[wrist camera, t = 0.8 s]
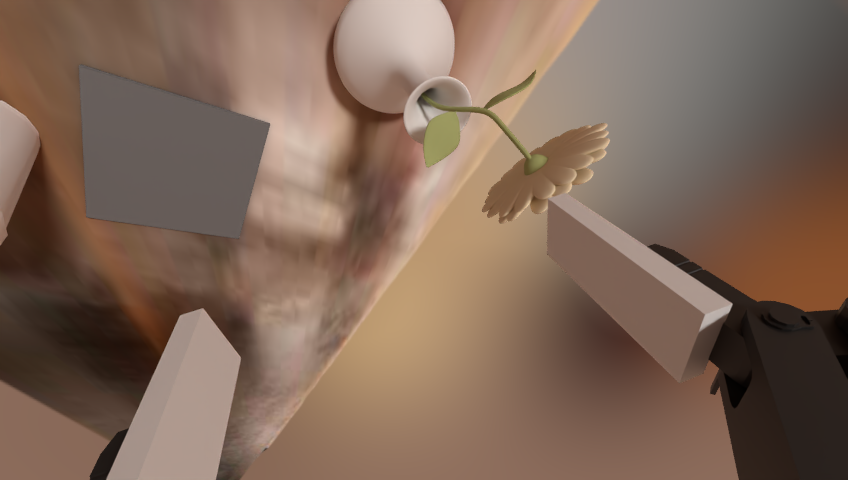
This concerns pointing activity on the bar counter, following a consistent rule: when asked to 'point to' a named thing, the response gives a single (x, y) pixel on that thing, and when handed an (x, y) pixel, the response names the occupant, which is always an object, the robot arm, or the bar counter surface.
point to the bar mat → (165, 157)
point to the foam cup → (14, 159)
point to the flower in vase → (448, 98)
